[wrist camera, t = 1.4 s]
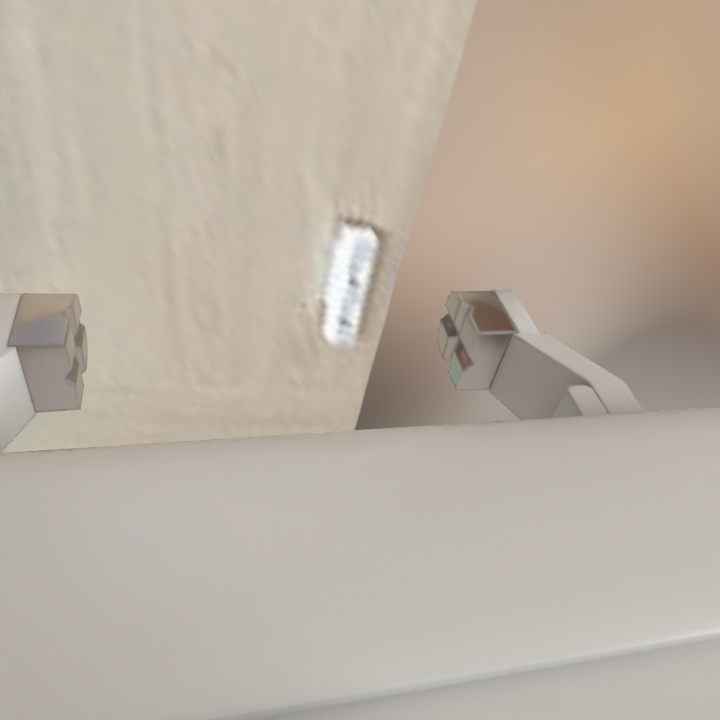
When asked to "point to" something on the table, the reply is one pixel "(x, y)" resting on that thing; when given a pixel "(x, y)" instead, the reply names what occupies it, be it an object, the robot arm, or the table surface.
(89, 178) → the table surface
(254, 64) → the table surface
